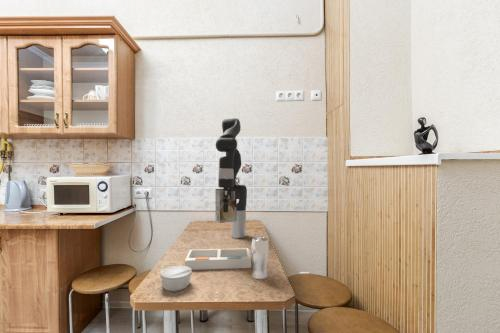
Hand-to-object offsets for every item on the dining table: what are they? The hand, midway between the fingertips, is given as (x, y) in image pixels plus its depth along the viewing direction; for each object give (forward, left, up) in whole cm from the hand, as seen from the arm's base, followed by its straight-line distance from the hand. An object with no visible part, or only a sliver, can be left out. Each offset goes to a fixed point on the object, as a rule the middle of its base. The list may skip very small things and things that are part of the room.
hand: (225, 210), depth 122 cm
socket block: (+8, -3, -23) cm, 24 cm away
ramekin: (+29, -18, -23) cm, 41 cm away
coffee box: (0, 0, -5) cm, 5 cm away
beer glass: (+24, +14, -23) cm, 36 cm away
